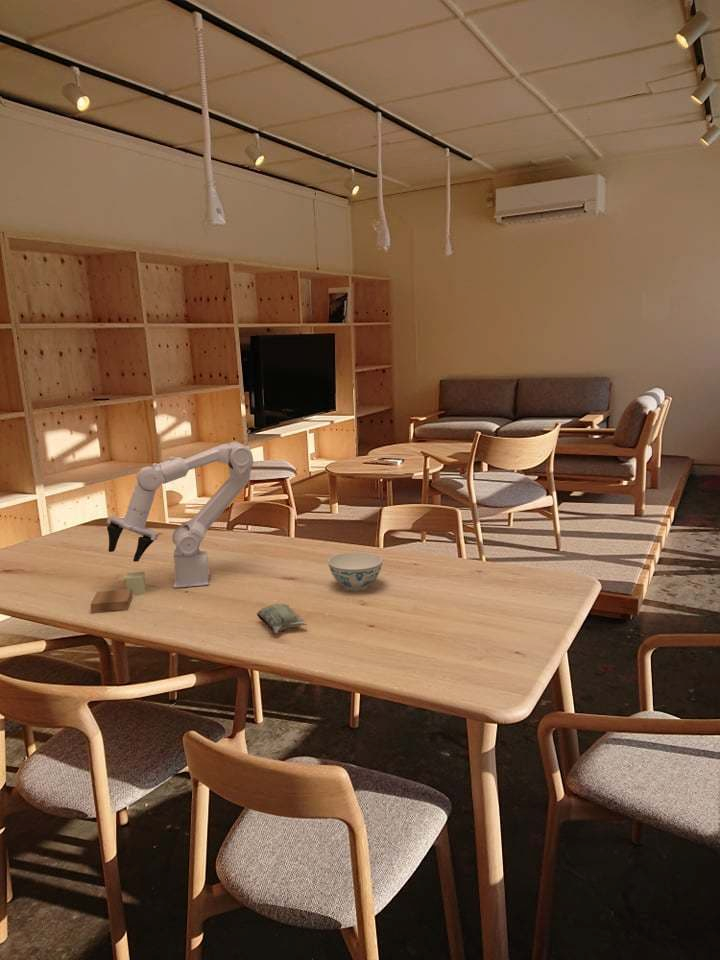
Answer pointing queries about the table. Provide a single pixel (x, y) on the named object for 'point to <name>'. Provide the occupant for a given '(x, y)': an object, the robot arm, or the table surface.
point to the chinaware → (355, 569)
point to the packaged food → (280, 618)
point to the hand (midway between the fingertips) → (123, 556)
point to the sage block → (136, 582)
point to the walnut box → (111, 601)
